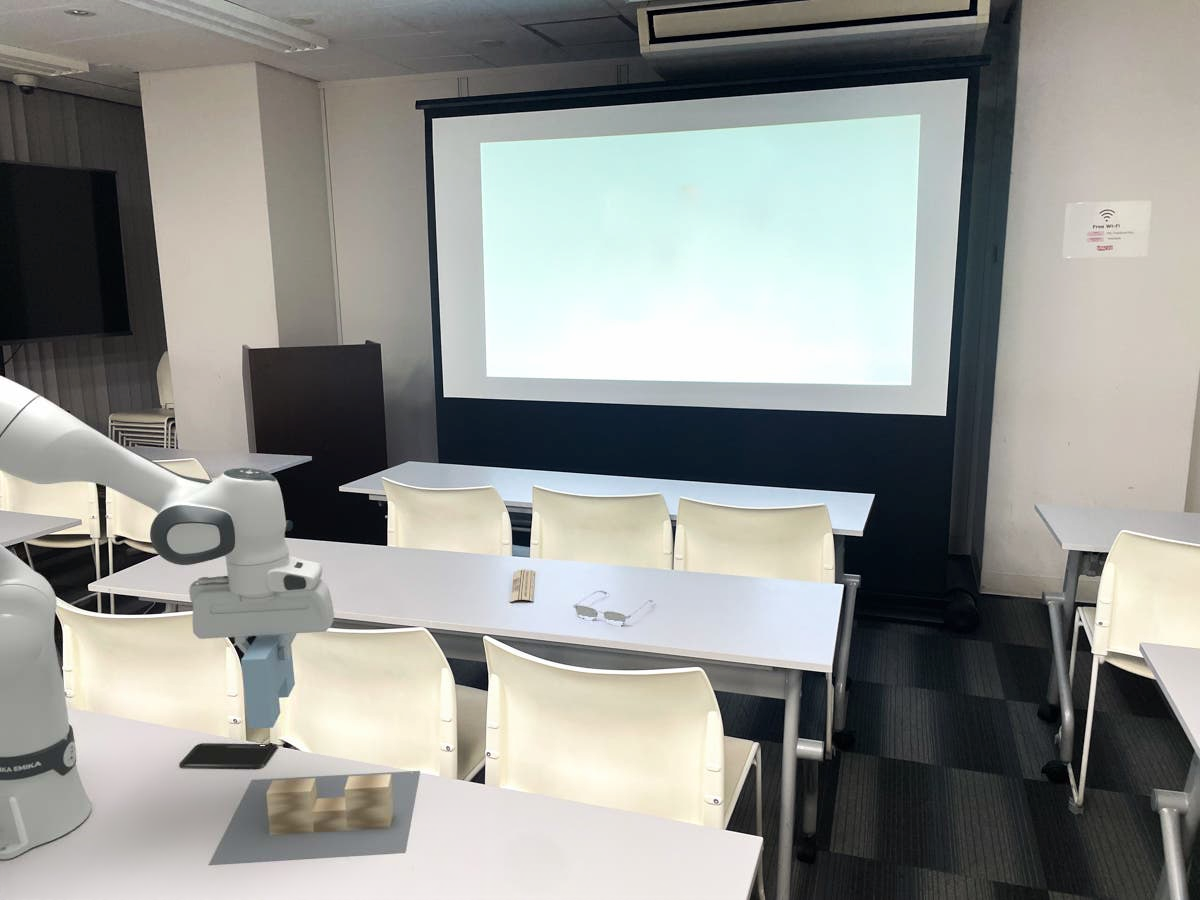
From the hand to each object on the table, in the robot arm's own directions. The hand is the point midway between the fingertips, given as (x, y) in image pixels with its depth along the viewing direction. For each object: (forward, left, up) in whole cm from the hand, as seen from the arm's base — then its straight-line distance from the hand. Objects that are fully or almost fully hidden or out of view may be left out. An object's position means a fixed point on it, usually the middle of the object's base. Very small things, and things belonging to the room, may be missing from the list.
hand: (268, 659), depth 136 cm
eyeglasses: (+63, +80, -27) cm, 105 cm away
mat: (+7, -2, -26) cm, 27 cm away
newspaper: (+39, +99, -27) cm, 110 cm away
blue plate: (0, 0, -8) cm, 8 cm away
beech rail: (+9, -5, -26) cm, 28 cm away
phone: (-13, +17, -26) cm, 34 cm away
